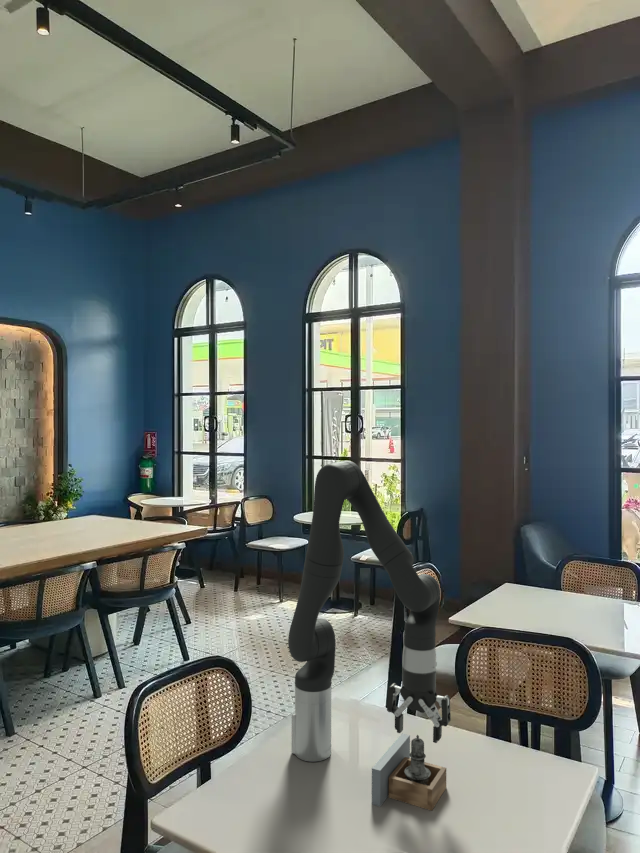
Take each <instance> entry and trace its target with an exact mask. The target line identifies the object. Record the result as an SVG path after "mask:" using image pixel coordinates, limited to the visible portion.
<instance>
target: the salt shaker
mask: <svg viewBox="0 0 640 853" xmlns="http://www.w3.org/2000/svg"><path fill="white" fill-rule="evenodd" d="M410 758H411V765H410V766H409V767H407V768H406V769H405V771H404V772H405V775H406V778H407V780H409V781H413V782H416V783H420V784H423V785H427V783H428V780H429V777H430V775H431V772H430V770H429V769H427V768H426V767H425V765H424V762H425V758H427V756H426V754H425V742H424V740H423V739H422V738H420V736H419V735H418V734H417V735H416V737H414V738H413V739H412V740H410ZM427 786H428V785H427Z"/></svg>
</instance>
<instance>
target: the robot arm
mask: <svg viewBox="0 0 640 853" xmlns="http://www.w3.org/2000/svg"><path fill="white" fill-rule="evenodd" d="M346 500H347V501H348V502H349V503H350V504H351V506H352V507H353V508H354V509H355V511H356V513H357V514H358V516H359V517H360V520H361V522H362V525H363V529H364V532H365V536H366V539H367V543H368V545H369V547H370V549H371V551H372V552H373V554H374V555H375V557H376V558H377V560H378V561H379V562H380V564H381V565H382V567H383V568H384V570H385V571H386V573H388V576H389V579H390V581H391V584H392V587H393V588H394V589H393V590H394V591H395V593H396V595H397V597H398V599H399V600H400V602H401V603H402V605H404V607H406V608H407V609H408V610H409V615H408V617H407V619H406V621H405V624H404V627H403V628H404V630H403V648H402V663H401V664H402V666H401V668H402V669H401V670H402V673H401V686H399V685H398V684H397V683H396V682H393V683H392V684H391V685H390V686H389V687H388V690H387V691H388V692H387V701H386V702H387V703H386V711H387V712H388V713H391V714H393V716H394V730H396V733H397V734H402V733H403V730H404V713H403V712H404V711H405V710H406V709H407V708H409V710H410V711H412V712H413V711H415V712H416V711H417V712H419V713H422V714H424V713H425V714H426V716H427V717H428V718H429V719H430V720H431V721H432V724H433V728H432V742H433V743H435V744H437V743H438V742H439V741H440V739H441V738H442V734H443V732H442V731H443V730H442V729H443V727H447V726H448V725H449V724H450V722H451V719H452V718H451V697H450V695H448V694H446V695H444V696H443V695H439V694H437V691H436V690H437V685H436V684H437V665H438V662H437V651H436V649H437V648H436V639H437V638H436V636H437V635H436V634H437V633H436V630H437V629H436V625H437V621H438V616H439V610H440V605H441V589H440V585H439V582H438V581H437V579H436V578H435V577H434V576H432V575H430V574H427V573H422V574H419V573H417V571H416V569H415V567H414V565H413V564H414V560H415V558H414V556H413V554H412V552H411V550H410V549H409V548H408V547H407V545H406V544H405V543H404V541H403V539H402V538H401V536H399V534H398V533H397V531H396V530H395V528H394V527H393V525H392V524H391V522H390V521H389V518H388V517H387V515H386V514H385V512H384V511H383V508H382V506H381V505H380V503H379V500H378V499H377V497H376V495H375V493H374V492H373V489H372V488H371V486H370V484H369V482H368V480H367V477H366V476H365V474H364V472H363V471H362V469H361V467H360V466H359V465H358V464H357V463H355V462H353V461H351V460H342V461H341V460H340V461H336V462H332V463H327V464H325V465H323V466H322V467H320V469H319V470H318V472H317V474H316V477H315V482H314V492H313V507H312V508H313V509H312V518H311V525H310V531H309V536H308V542H307V548H306V553H305V558H304V565H303V571H302V572H303V573H302V578H301V584H300V588H299V593H298V598H297V602H296V606H295V609H294V613H293V617H292V620H291V622H290V623H291V624H290V627H289V631H288V638H287V639H288V640H287V643H288V644H287V645H288V650H289V651H288V652H289V654H290V656H291V657H292V659H293V660H295V661H296V662H299V663H305V662H306V663H305V664H303V665H302V666H301V667H300V668H299V669H298V670H297V671H296V673H295V676H294V713H293V714H291V751H290V752H291V754H294V755H295V756H296V757H297V758H298V759H299V760H302V761H305V762H314V763H315V762H321V761H324V760H326V759H328V758H329V757H330V756H331V754H332V679H333V677H334V675H335V665H336V664H335V663H336V648H337V647H336V633H335V631H334V627H333V625H332V624H331V623H330V621H329V620H327V619H326V618H318V617H319V614H320V612H321V610H322V608H323V607H324V605H325V604H326V602H327V601H328V599H329V598H330V596H331V595H332V593H333V591H334V590H335V588H336V587H337V585H338V583H339V581H340V579H341V575H342V569H343V565H344V564H343V563H344V559H345V558H344V557H345V549H344V548H345V547H344V543H343V540H342V536H341V530H340V520H341V516H342V510H343V506H344V504H345V501H346ZM418 574H419V575H418ZM399 693H400V695H401V698H402V699H403V701H404V702H402V703H401V705H400V706H397V696H398V695H399ZM436 702H437V703H438V705H439V707H440V708H441V714H440V713H439V710H438V708H437V706H436ZM441 740H442V739H441Z"/></svg>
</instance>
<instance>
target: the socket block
mask: <svg viewBox="0 0 640 853" xmlns="http://www.w3.org/2000/svg"><path fill="white" fill-rule="evenodd" d="M410 765H411V757H410V758H408V757H405V758H404V759H403V760H402V761H401V763H400V764H399V765H398V766H397V768H396V769H395V770H394V771H393V773H392V774H391V775H390V776H389V796H388V798H389V799H393V800H396V801H399V802H402V803H405V804H408V805H412V806H414V807H415V806H416V807H418V808H422V809H425V810H429V811H433V810H434V808H435V807H436V806H437V804H438V801H439V800H440V798H441V797H442V796H443V793H444V792H445V791H446V788H447V767H444V766H440V765H437V764H433V763H430V762H425V761H424V765H425V767H426V768H427V769H429V770H430V772H431V775H430V777H429V780H428V783H427V785H428V786H427V785H423V784H420V783H416V782H413V781H409V780H407V778H406V775H405V772H404V771H405V769H406V768H407V767H409V766H410Z"/></svg>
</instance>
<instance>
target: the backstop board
mask: <svg viewBox="0 0 640 853" xmlns="http://www.w3.org/2000/svg"><path fill="white" fill-rule="evenodd" d="M410 753H411V735H410V734H406V733H403V732H401V733H400V735H399V736H398V737H397V739H396V740H395V741H394V742H393V743H392V744H391V746H389V748H388V749H387V750H386V751H385V752H384V753H383V755H382V756H381V757H380V758H379V759H378V760H377V761H376V763H375V764H374V765H373V766H372V767H371V805H374V806H376V807H382V805H383V803H384V802H385V801H386V800H387V799H388V798H389V776H390V775H391V774H392V773H393V771H394V770H395V769H396V768H397V766H398V765H399V764H400V763H401V761H402V760H403V759H404V758H405V757H408V758H411V757H410Z"/></svg>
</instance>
